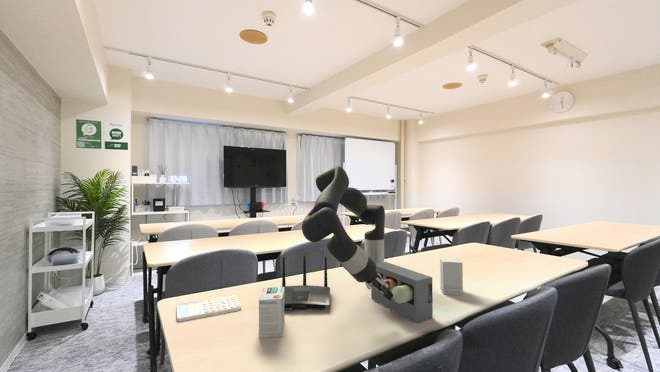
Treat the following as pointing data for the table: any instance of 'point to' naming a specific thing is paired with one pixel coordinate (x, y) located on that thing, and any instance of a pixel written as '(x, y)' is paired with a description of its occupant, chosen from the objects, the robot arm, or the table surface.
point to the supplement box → (451, 276)
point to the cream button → (369, 285)
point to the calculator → (207, 308)
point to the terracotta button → (391, 283)
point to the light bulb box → (271, 312)
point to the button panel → (422, 288)
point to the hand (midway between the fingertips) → (390, 297)
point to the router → (306, 292)
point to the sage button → (403, 293)
